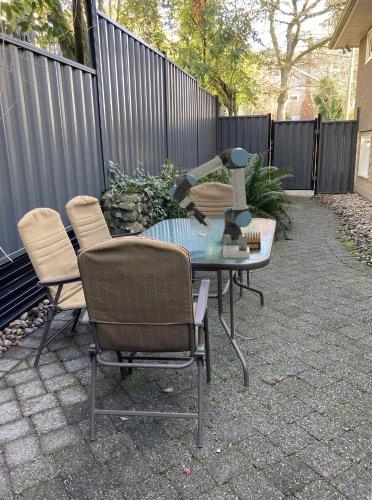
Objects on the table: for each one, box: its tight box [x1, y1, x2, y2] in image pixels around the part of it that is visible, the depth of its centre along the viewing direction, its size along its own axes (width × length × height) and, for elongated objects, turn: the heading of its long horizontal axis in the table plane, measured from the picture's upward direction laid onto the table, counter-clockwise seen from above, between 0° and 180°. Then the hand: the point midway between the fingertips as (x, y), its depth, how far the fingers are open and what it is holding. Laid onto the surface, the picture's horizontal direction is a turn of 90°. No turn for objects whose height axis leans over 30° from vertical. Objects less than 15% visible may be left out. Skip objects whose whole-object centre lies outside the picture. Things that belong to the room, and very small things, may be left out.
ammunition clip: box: [244, 231, 262, 251], centre depth 250 cm, size 11×2×12 cm, turn 88°
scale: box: [222, 245, 251, 259], centre depth 241 cm, size 17×16×4 cm
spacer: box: [222, 234, 232, 247], centre depth 257 cm, size 5×5×9 cm
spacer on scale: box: [238, 234, 248, 251], centre depth 235 cm, size 5×5×9 cm
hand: (210, 226), depth 256 cm, fingers open, 13 cm apart
